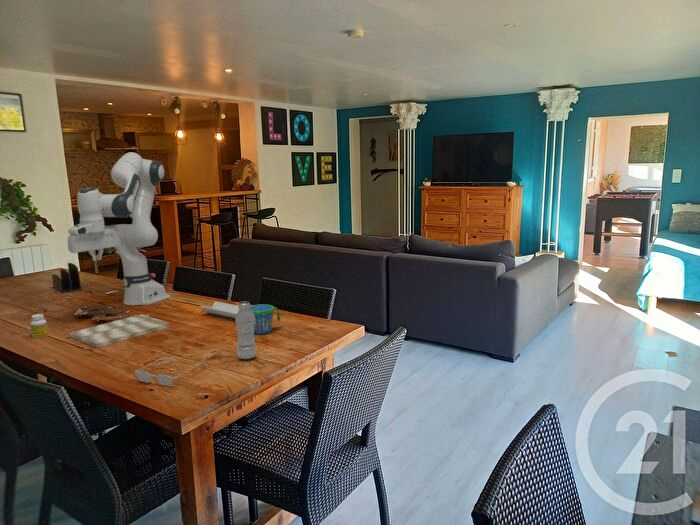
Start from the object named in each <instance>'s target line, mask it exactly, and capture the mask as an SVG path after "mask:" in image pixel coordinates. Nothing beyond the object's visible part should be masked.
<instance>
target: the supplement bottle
mask: <svg viewBox="0 0 700 525" xmlns="http://www.w3.org/2000/svg"><path fill="white" fill-rule="evenodd" d="M31 320H32V321H30V330H31V331H30V332H31V337H32V339H43V338H47V337H48V336H49V332H48V331H49V329H48V324H47V323H48V322H47V319H45V316H44V314H43V313H37V314H32V315H31Z"/></svg>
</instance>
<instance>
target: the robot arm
mask: <svg viewBox="0 0 700 525" xmlns="http://www.w3.org/2000/svg"><path fill="white" fill-rule="evenodd" d="M110 176H111V179H112V181H113V182H114V183H115V184H116V185H117V186H119V187H121V188H123V189H124V191H123V192H121V193H115V194H114V193H113V194H110V193H109V194H106V193H105V194H104V193H102V192H100V191H99V189H98V188H97V187H94V186H93V187H92V186H89V187H82V188H80V189H79V190H78V191H77V195H76V196H77V200H76V201H77V210H78V213H79V223H78V224H75V225H74V226H71V227H70V228H68V229H67V232H68V233H69V235H68V237H67V249H68V252H70V253H71V254H77V253H83V252H88V254H89V255H90V256H91V257H92V261H94V262H95V261H96V262H97V261H100V260H102V255H103V253H104V249H110V248H114V249H115V250H116V251H117V253H118V255H119V257H120V260H121V264H122V270H123V276H122V278H123V280H122V281H123V286H124V296H123V303H122V304H123V305H127V306H140V305H141V306H142V305H143V306H144V305H147V306H148V305H152V304H155V303H158V302H162V301H164V300H168V299H171V297H172V296H171V294H170V293H167V291H166V288H165V287H164V285H163V284H161V283H159V282H157V281H156V280H154V279H153V278H155V277H156V273H153V272H152V273H150V272H149V268H148V261H147V258H146V256H145V255H144V254H143V253H141V252H140V251H139V250H138V248H145V247H146V248H147V247H150V246H151V247H152V246H154V245H155V244H156V243H157V241H158V240H159V239H158V238H159V234H158V230H157V228H155V226H154V225H153V223H152V222H151V213H152V208H153V203H154V198H155V190H156V188H155V186H156V187H157V185H158V184H159V183H160V182H161V181H162V180H163V179H164V177H165V167H164V165H163V162H160V161H158V160H152V159H151V160H150V159H145V158H143V157H142V156H140V155H139V154H138V153H136V152H134V151H132V152H131V151H130V152H127V153H125V154H123V155H122V156H121V157H120V158H118V160H117V161H116V163H115V164H113V166H112V169H111V170H110ZM128 217H130V218H131V219H132V223H131V224H128V223H126V224H125V223H121V224H111V225H105V219H104V218H125V219H126V218H128ZM137 247H138V248H137ZM95 251H97V252H98V253H97V255H95Z"/></svg>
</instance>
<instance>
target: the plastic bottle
mask: <svg viewBox="0 0 700 525" xmlns="http://www.w3.org/2000/svg"><path fill="white" fill-rule="evenodd" d="M238 306H239V307H238V308H239V311H238V313H237V315H236V317H235V318H234V319H235V324H236V329H237V330H236V331H237V349H236V355H237V357H238V358H239V359H241V360H251V359H254V358H255V357H256V355H257V345H256V341H255V340H256V339H255V333H254V322H255V316H254V314H253V312H252V311H251V310H250V306H251V305H250V301H247V300H246V301H245V300H244V301H239V302H238Z"/></svg>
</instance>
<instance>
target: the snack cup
mask: <svg viewBox="0 0 700 525" xmlns="http://www.w3.org/2000/svg"><path fill="white" fill-rule="evenodd" d="M250 310H251V311H252V312H253V314H254V316H255V322H254V334H256V335H265V334H269V333H271V331H272V328H273V319H274V312H275V310H276V311H277V318H276V320H277V322H280V321H281V313H280V310H279V308H277V307H275V306H274V305H272V304H265V303H264V304H263V303H261V304H254V305H250Z"/></svg>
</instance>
